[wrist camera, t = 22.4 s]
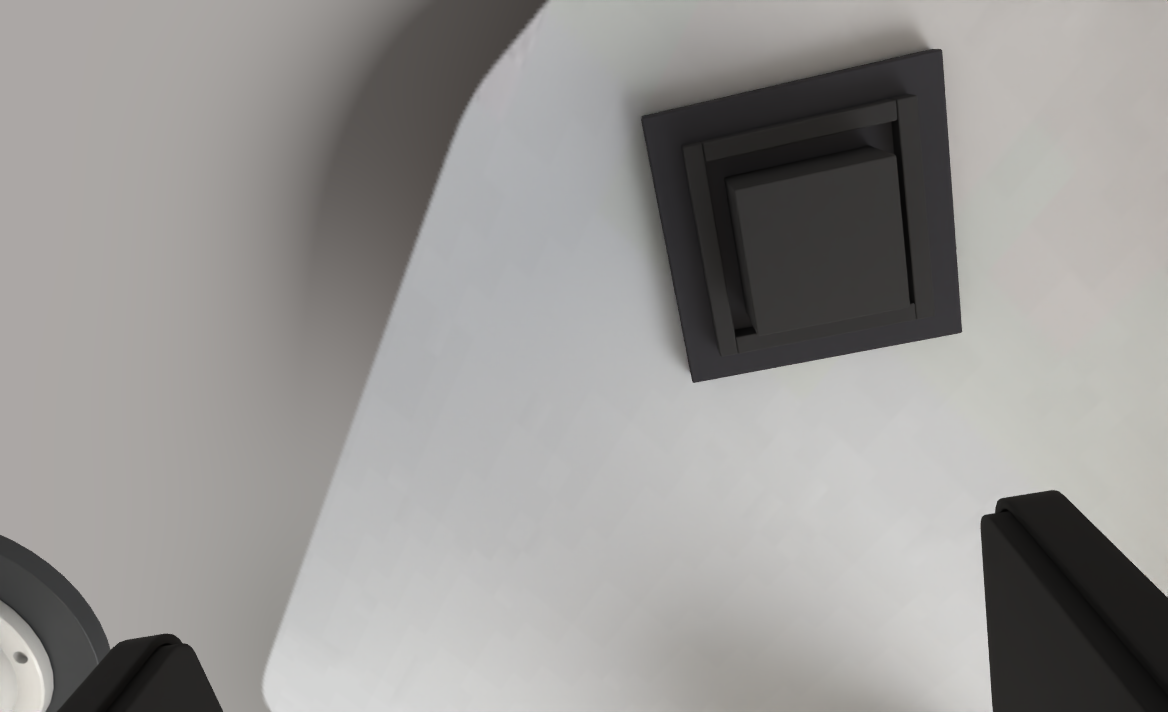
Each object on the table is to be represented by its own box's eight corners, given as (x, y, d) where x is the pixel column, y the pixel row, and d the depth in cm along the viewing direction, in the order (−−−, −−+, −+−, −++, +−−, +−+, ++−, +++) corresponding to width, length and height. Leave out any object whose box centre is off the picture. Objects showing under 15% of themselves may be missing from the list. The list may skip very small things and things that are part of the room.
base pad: (690, 374, 38) (694, 392, 36) (640, 116, 34) (641, 120, 32) (952, 324, 36) (972, 340, 34) (931, 48, 32) (952, 48, 30)
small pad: (745, 311, 35) (757, 337, 32) (723, 176, 33) (733, 189, 30) (884, 284, 35) (910, 307, 31) (869, 144, 33) (896, 154, 29)
